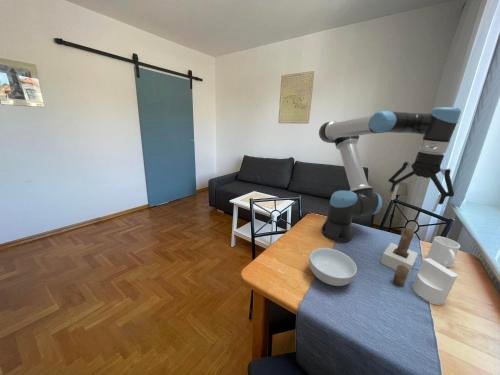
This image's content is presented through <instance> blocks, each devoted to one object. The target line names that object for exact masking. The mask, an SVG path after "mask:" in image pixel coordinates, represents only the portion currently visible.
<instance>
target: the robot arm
mask: <svg viewBox="0 0 500 375" xmlns="http://www.w3.org/2000/svg"><path fill="white" fill-rule="evenodd" d="M461 112H462V110H461V108H459V107H450V106H449V107H446V106H445V107H444V106H443V107H442V106H441V107H434V108H432V110H431V112H430V113H423V112H404V111H401V112H400V111H389V110H382V111H381V110H380V111H379V110H378V111H376V112H375V113H373V114H371V115H367V116H361V117H358V118H356V117H355V118H352V119H347V120H342V121H327V122H324V123H323V124H322V125H321V126H320V127H319V130H318V136H319V138H320V140H321V141H322V142H325V143H328V144H334V145H335V148H336V150H338V151H340V156H341V160H342V163H343V166H344V170H345V173H346V174H345V175H346V179H347V181H348V184H349V188H350V189H349V190H337V191H334V192H333V193H332V195H331V197H330V200H329V207H328V211H327V217H326V220H324V222H323V224H322V226H321V229H320V233H321V234H322V236H323V237H324V238H327V240H330V241H332V242H336V243H349V242H351V241H352V238H353V229H352V222H353V218H354V217H355V218H356V217H357V218H358V217H365V216H367V217H368V216H372V215H375V214H378V213H379V212H380V211H381V209H382V207H383V199H382V196H381V195H380V194H379V193H378V192H374V189H373V187H372V186H370V185H369V183H368V181H367V176H366V174H365V170H364V167H363V163H362V160H361V157H360V154H359V150H358V148H357V144H358V142H359V139H360V136H363V135H364V136H365V135H372V134H384V133H394V134H395V133H400V134H401V133H403V134H418V135H423V137H422V140H421V143H420V145H419V147H418V148H419V151H418V152H417V153H416V154H417V155H416V157H415V160H414V162H413V163H411V162H409V161H405V162H403V164H402V167H401V168H399V169H398V170H397V171H396V172H395V173H394V174H393V175H392V176H391V177H390V178H388V180H387V181H388V182H389V183H391V184H392V185H391V189H390V192H392V195H391V198H390V200H391V201H393V200H395V199H396V196H397V192H398V189H399V187H400V184H399V183H401V182H403V181H404V180H407V179H409V178H410V177H412V176H414V175H415V176H417V177H422V178H424V179H429V178H430V179H431V181H432V182H433V183H434V185H435V187H436V189H437V190H438V192H439V193H440V194H439V195H438V196H437V198H436V202H435V203H434V206H433V209H432V211H431V212H432V213H436V211H437V208H438V206H439V205H443V204H444V201H445V199H446V198H447V197H451V198H453V197H454V195H455V190H454V186H453V182H452V178H451V176H450V175H451V171H452V169H451V168H441V165H442V163H443V161H444V157H445V155H444V154H445V153H446V152H447V150H448V147H449V145H450V141H451V138H452V137H453V133H454V131H455V130H456V127H457V125H458V123H459V119H460V117H461V114H462V113H461ZM410 167H411V168H412V171H410V172H409V173H407V174H406V175H403V176H402V177H400V178H398V177H399V175H400V174H402V173H403V172H404V171H405V170H406V169H409V168H410ZM439 173H441V175H443V176H444V181H445V185H446V188H447V189H445V187H444V186H443V184H442V183H441V181H440V180H439V178H438V176H437V175H436V174H439ZM396 178H398V179H396Z"/></svg>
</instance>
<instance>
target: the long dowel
mask: <svg viewBox="0 0 500 375" xmlns="http://www.w3.org/2000/svg"><path fill="white" fill-rule="evenodd" d="M414 233H415V231H414V230H412V229H409V228H403V231H402V233H401V236H400V239H399V242H398V244H397V245H398V247H397V250H396V253H395V254H397V255H399V256H401V257H404V258H405V257H406V254H407V251H408V249H409V248H410V245H411V242H412V240H413V237H414V235H415V234H414Z"/></svg>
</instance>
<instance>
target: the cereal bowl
mask: <svg viewBox="0 0 500 375" xmlns="http://www.w3.org/2000/svg"><path fill="white" fill-rule="evenodd" d="M308 258H309V259H308V262H309V268H310V270H311V272H312V273H313V275H314V276H315V277H316V278H317V279H318V280H320V281H321V282H323V283H324V284H328V285H331V286H334V287H335V286H336V287H344V286H346V285H348V284H350V283H352V282H353V281H354V279H355V277H356V274H357V272H358V269H357V268H358V267H357V265H356V263H355V262H354V260H353V259H352V258H351V257H350V256H348V255H347V254H346V253H344V252H342V251H341V250H337V249H334V248H330V247H318V248H315V249H313V251H311V253H310V254H309V257H308Z"/></svg>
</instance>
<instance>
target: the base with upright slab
mask: <svg viewBox="0 0 500 375" xmlns="http://www.w3.org/2000/svg"><path fill="white" fill-rule="evenodd" d="M420 265H421V266H420V268H419V270H418V272H417V274H416V277H415V279H414V282H413V285H412V290H413V292H414V291H415V292H416V293H417V294H418V295H419V296H421V297H422V298H424V299H426V300H427V301H426V300H425V301H426V302H428V301H429V302H428V303H430V302H431V303H430V304H433V303H434V304H433V305H437V304H441V305H444V304H445V302H446V301H447V299H448V297H449V295H450V292H451V290H452V288H453V286H454V284H455V282H456V280H457V278H458V275H459V274H457V273H455V272H454V271H452V270H451V269H449V268H448V267H444V266H442V265H441V264H439V263H437V262H436V261H434V260H432V259H431V258H427V257H426V258H423V260H422V263H421V264H420ZM415 292H414V293H415ZM416 293H415V294H416ZM417 294H416V295H417ZM418 295H417V296H418ZM419 296H418V297H419ZM421 297H420V298H421ZM422 298H421V299H422ZM424 299H423V300H424Z"/></svg>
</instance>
